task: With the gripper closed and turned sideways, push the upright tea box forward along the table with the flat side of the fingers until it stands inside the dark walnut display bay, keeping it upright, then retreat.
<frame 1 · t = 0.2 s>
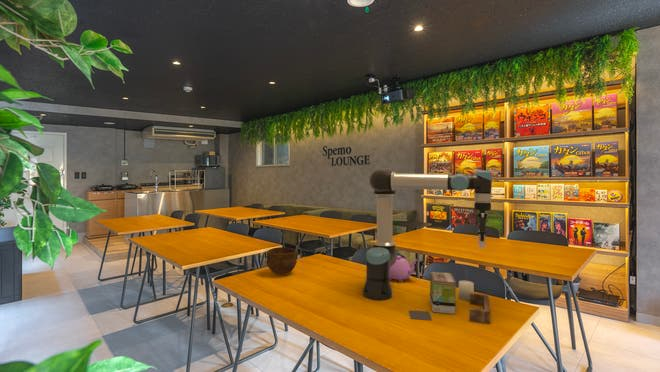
hand: (481, 245, 166), 28 cm above the table, fingers open, 13 cm apart
bowl: (281, 274, 210), on the table
rubber coaster: (420, 316, 149), on the table
display bay: (479, 312, 153), on the table
teapot: (399, 279, 201), on the table
tea box: (442, 307, 159), on the table
cream domed cylinder: (465, 298, 171), on the table
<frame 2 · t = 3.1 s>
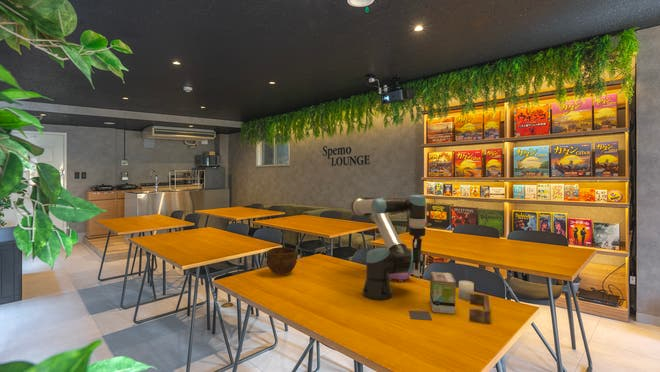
hand: (416, 275, 163), 13 cm above the table, fingers closed
nothing on the table moved.
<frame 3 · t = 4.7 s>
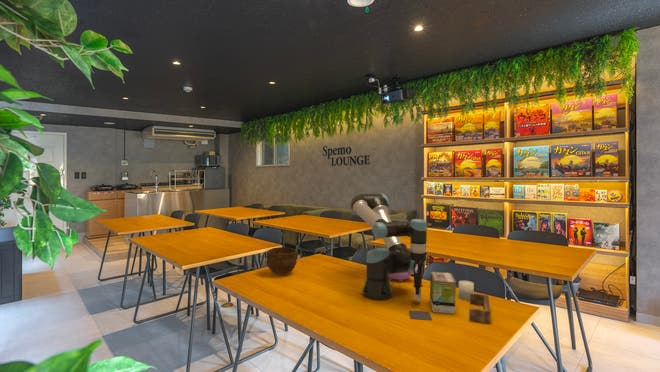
hand: (417, 300, 163), 2 cm above the table, fingers closed
nothing on the table moved.
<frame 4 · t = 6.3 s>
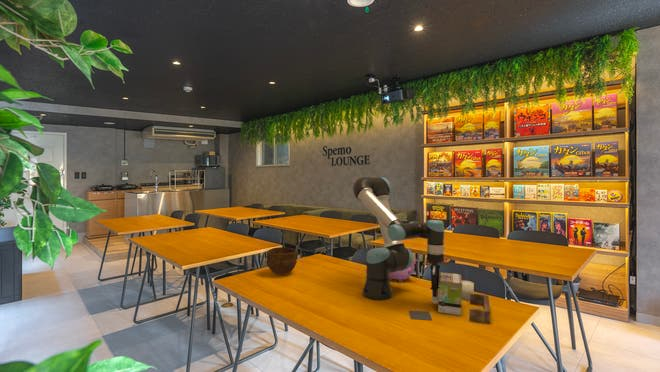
hand: (434, 302, 160), 2 cm above the table, fingers closed
tea box: (449, 308, 158), on the table, touching gripper
everything else where it was.
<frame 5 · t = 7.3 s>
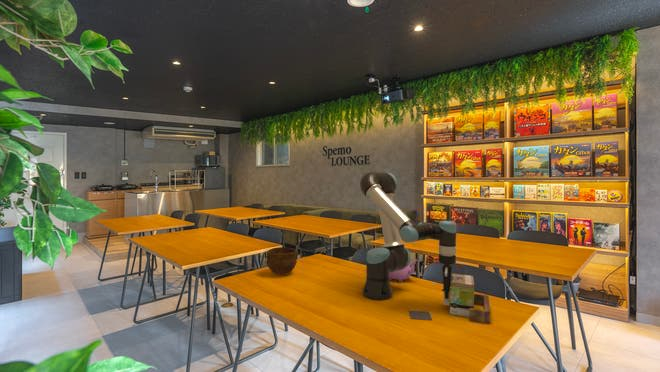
hand: (446, 304, 158), 2 cm above the table, fingers closed
tea box: (461, 310, 156), on the table
everything else where it was.
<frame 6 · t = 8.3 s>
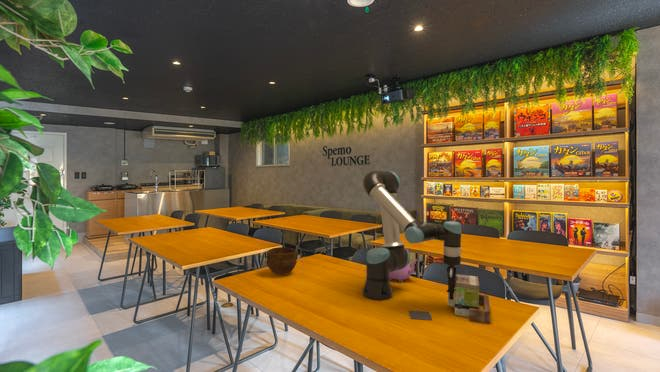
hand: (451, 305, 157), 1 cm above the table, fingers closed
tea box: (466, 311, 155), on the table, touching gripper
everything else where it was.
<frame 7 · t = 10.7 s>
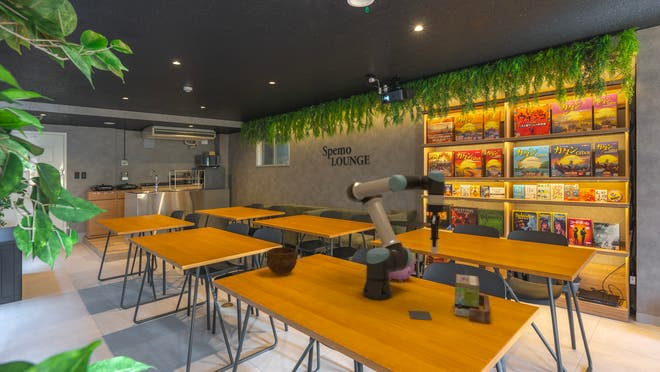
hand: (434, 253, 161), 25 cm above the table, fingers closed
tea box: (466, 311, 155), on the table
everything else where it was.
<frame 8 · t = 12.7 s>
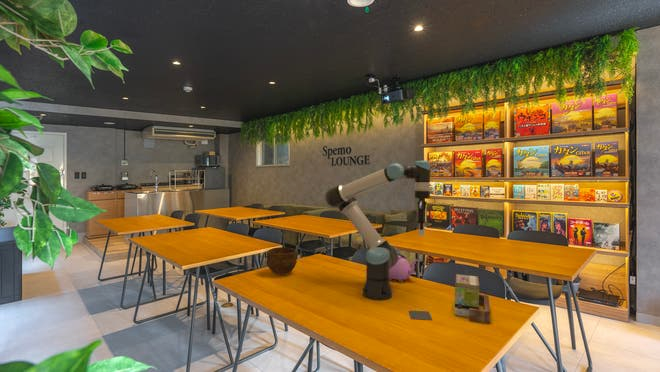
hand: (421, 235, 176), 30 cm above the table, fingers closed
nothing on the table moved.
at the end: tea box inside the target area (1.5 cm from its centre), on the table; tea box tilted 0°; tea box moved 10.6 cm from its start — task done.
